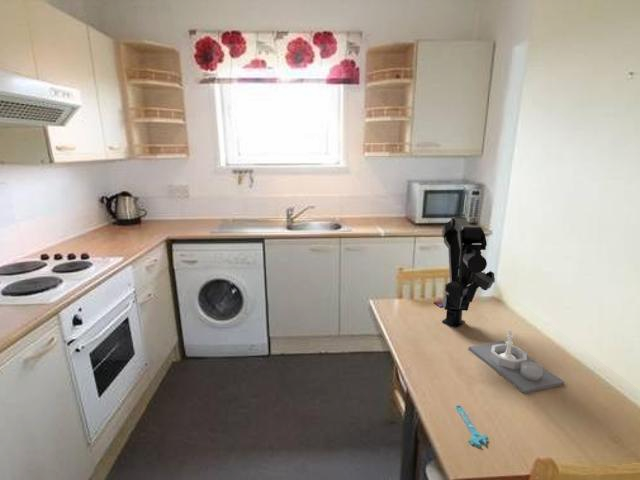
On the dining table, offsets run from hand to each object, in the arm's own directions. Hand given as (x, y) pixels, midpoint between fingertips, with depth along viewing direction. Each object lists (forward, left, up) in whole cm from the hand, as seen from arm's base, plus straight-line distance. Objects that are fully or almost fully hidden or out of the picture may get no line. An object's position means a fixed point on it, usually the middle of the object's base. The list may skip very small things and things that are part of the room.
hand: (464, 305), depth 128 cm
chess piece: (+3, +17, -12) cm, 21 cm away
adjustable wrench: (+38, +21, -14) cm, 45 cm away
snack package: (-25, -19, -14) cm, 34 cm away
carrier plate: (+4, +19, -13) cm, 23 cm away
